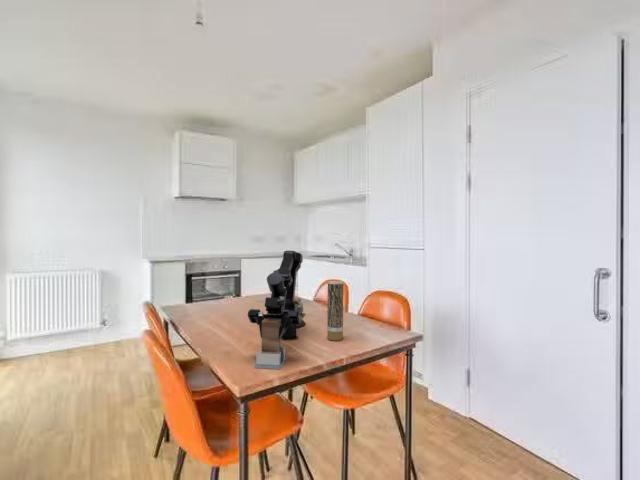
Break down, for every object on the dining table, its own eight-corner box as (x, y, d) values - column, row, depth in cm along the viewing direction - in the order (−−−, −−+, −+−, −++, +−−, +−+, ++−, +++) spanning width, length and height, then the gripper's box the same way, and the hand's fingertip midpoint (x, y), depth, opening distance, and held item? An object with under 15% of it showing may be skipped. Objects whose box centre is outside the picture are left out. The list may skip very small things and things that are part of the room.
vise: (265, 353, 133) (265, 340, 133) (288, 354, 132) (288, 341, 132) (254, 367, 119) (254, 353, 119) (280, 369, 118) (280, 354, 118)
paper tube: (342, 336, 156) (342, 280, 155) (343, 341, 149) (344, 283, 148) (326, 336, 155) (327, 280, 155) (327, 341, 149) (328, 283, 148)
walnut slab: (264, 354, 126) (264, 318, 126) (280, 355, 125) (280, 319, 125) (261, 358, 122) (261, 321, 122) (278, 358, 122) (278, 322, 121)
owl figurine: (281, 332, 162) (280, 296, 161) (267, 327, 171) (266, 292, 170) (310, 325, 174) (310, 291, 173) (296, 321, 182) (296, 288, 182)
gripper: (249, 287, 128) (238, 325, 117) (299, 288, 126) (293, 327, 115) (255, 304, 136) (246, 341, 126) (302, 305, 134) (297, 343, 123)
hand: (270, 338), depth 122 cm, fingers closed on walnut slab, 6 cm apart
